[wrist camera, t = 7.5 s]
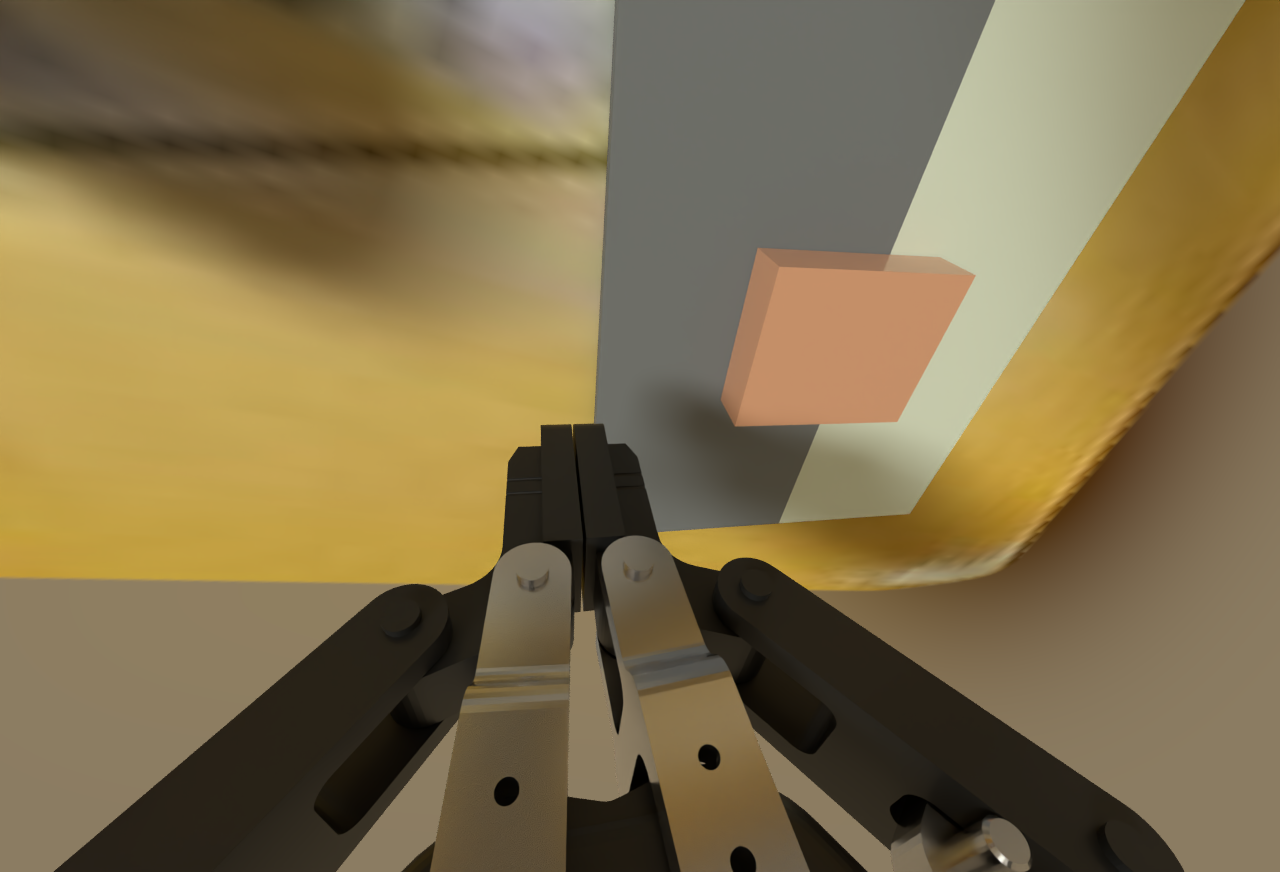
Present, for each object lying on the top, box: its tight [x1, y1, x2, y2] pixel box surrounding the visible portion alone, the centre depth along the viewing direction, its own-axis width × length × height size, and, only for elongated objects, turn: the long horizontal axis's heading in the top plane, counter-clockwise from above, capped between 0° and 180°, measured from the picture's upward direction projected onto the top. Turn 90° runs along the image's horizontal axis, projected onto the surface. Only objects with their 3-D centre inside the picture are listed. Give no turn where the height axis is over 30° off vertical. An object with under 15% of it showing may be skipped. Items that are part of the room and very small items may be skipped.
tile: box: [721, 248, 976, 426], centre depth 17 cm, size 6×2×7 cm
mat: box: [594, 0, 1245, 532], centre depth 18 cm, size 22×18×1 cm
